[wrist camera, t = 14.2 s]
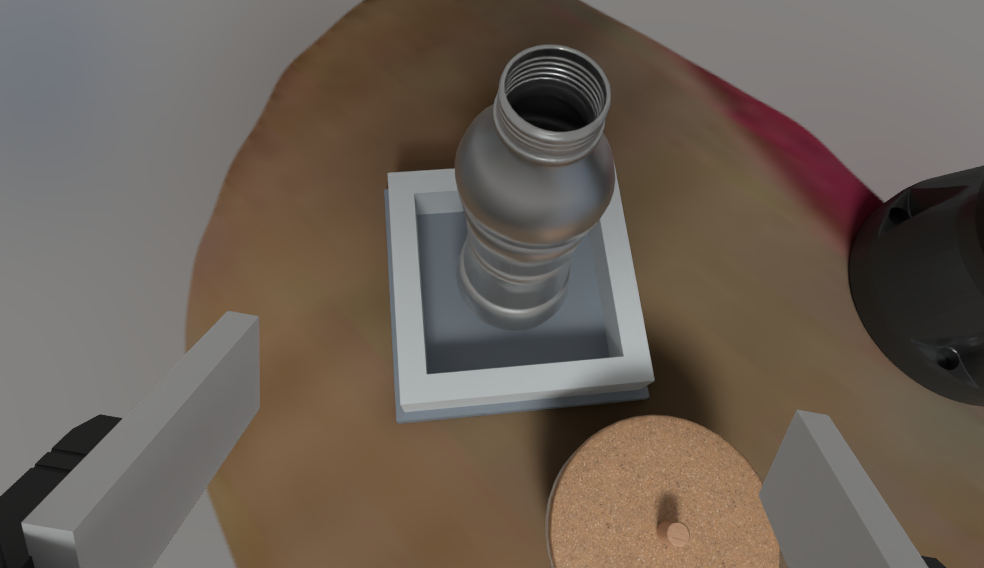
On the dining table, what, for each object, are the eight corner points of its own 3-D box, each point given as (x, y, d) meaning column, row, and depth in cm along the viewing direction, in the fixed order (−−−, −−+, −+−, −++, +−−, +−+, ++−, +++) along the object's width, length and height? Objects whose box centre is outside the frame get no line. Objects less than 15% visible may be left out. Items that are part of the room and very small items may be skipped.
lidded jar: (556, 408, 38) (587, 380, 29) (729, 460, 38) (813, 448, 29) (509, 597, 35) (527, 630, 26) (698, 657, 34) (783, 711, 25)
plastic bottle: (537, 358, 38) (615, 211, 19) (436, 310, 39) (417, 122, 20) (578, 269, 40) (686, 57, 21) (483, 224, 41) (505, -19, 22)
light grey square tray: (605, 181, 43) (619, 150, 40) (644, 399, 39) (665, 388, 35) (385, 196, 42) (378, 166, 38) (398, 423, 37) (391, 415, 34)
